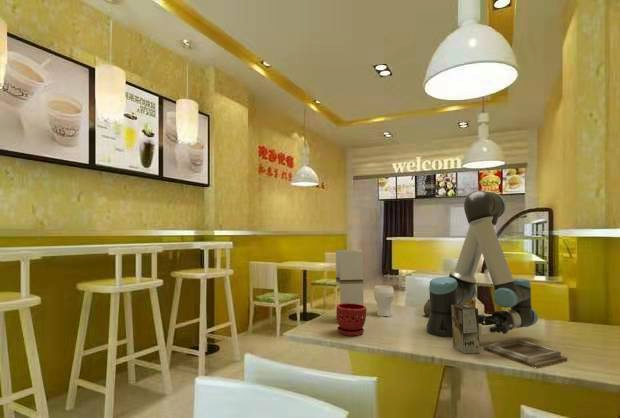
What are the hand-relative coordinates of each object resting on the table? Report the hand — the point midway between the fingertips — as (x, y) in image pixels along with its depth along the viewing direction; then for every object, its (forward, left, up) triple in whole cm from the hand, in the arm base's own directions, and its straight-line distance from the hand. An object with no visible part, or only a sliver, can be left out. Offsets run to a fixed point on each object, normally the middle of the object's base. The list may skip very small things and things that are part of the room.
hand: (466, 326), depth 133 cm
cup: (-60, +5, -9) cm, 61 cm away
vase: (-47, +25, -9) cm, 54 cm away
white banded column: (-57, -18, -9) cm, 60 cm away
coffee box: (-1, 0, -9) cm, 9 cm away
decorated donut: (-34, +42, -9) cm, 55 cm away
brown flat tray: (+12, +14, -9) cm, 21 cm away
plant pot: (-38, -28, -9) cm, 48 cm away
